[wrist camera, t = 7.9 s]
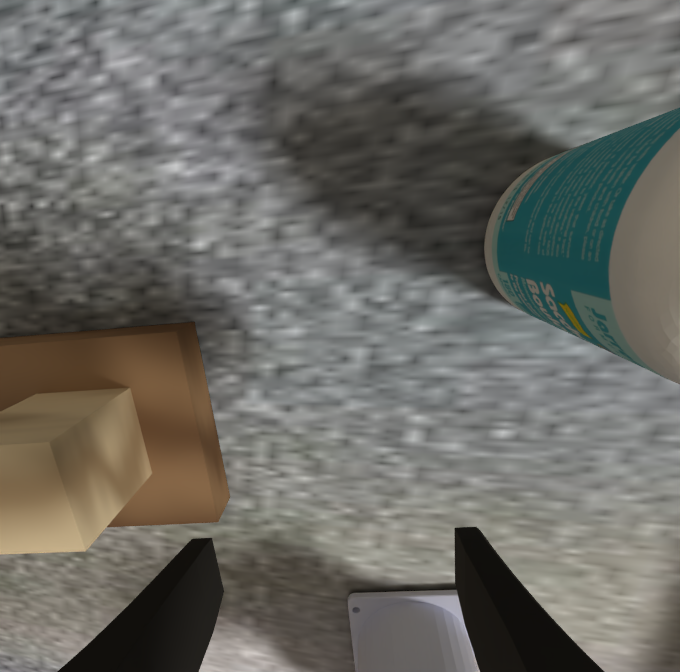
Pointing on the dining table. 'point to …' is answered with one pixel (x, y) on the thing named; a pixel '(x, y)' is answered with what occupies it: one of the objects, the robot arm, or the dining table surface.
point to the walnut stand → (137, 408)
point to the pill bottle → (599, 243)
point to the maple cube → (67, 468)
